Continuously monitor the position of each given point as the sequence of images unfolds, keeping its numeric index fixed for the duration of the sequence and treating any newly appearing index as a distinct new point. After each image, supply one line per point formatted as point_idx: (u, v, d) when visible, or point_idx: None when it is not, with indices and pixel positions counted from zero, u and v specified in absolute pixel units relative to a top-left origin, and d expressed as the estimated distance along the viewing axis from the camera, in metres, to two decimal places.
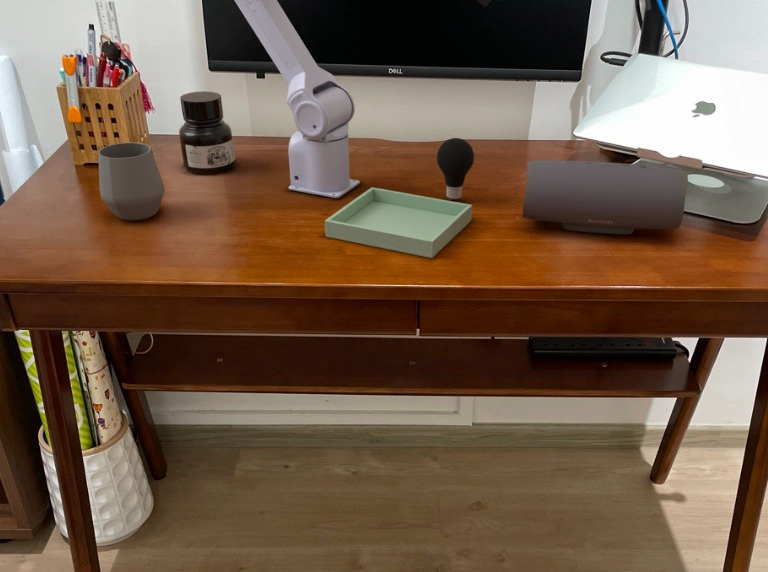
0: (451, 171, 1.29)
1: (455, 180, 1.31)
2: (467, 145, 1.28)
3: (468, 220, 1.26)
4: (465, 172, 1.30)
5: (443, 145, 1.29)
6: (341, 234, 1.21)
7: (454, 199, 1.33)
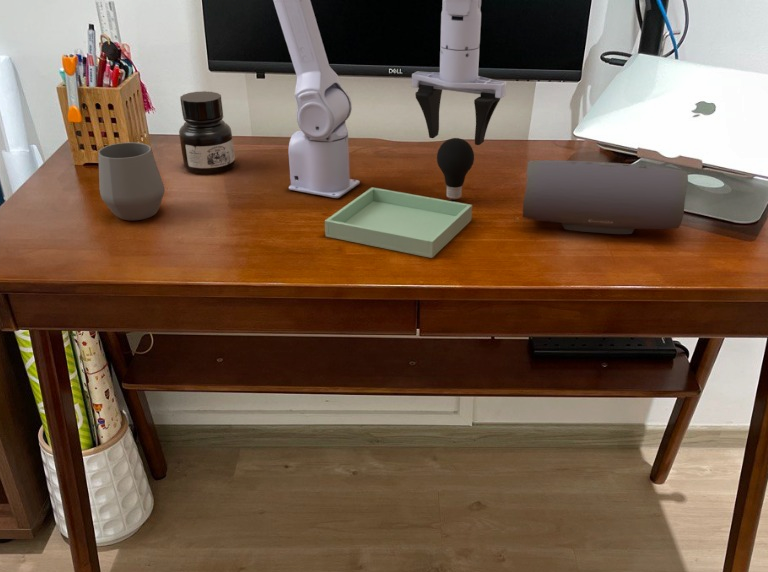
0: (451, 171, 1.29)
1: (455, 180, 1.31)
2: (467, 145, 1.28)
3: (468, 220, 1.26)
4: (465, 172, 1.30)
5: (443, 145, 1.29)
6: (341, 234, 1.21)
7: (454, 199, 1.33)
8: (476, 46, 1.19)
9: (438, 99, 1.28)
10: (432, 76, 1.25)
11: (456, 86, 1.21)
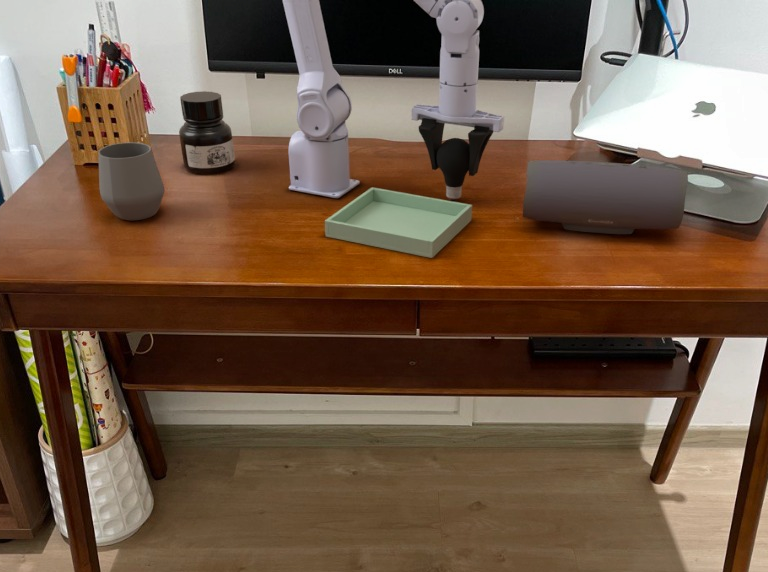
0: (451, 171, 1.29)
1: (455, 180, 1.31)
2: (467, 145, 1.28)
3: (468, 220, 1.26)
4: (465, 172, 1.30)
5: (443, 145, 1.29)
6: (341, 234, 1.21)
7: (454, 199, 1.33)
8: (474, 82, 1.22)
9: (441, 132, 1.30)
10: (431, 110, 1.28)
11: (455, 120, 1.24)
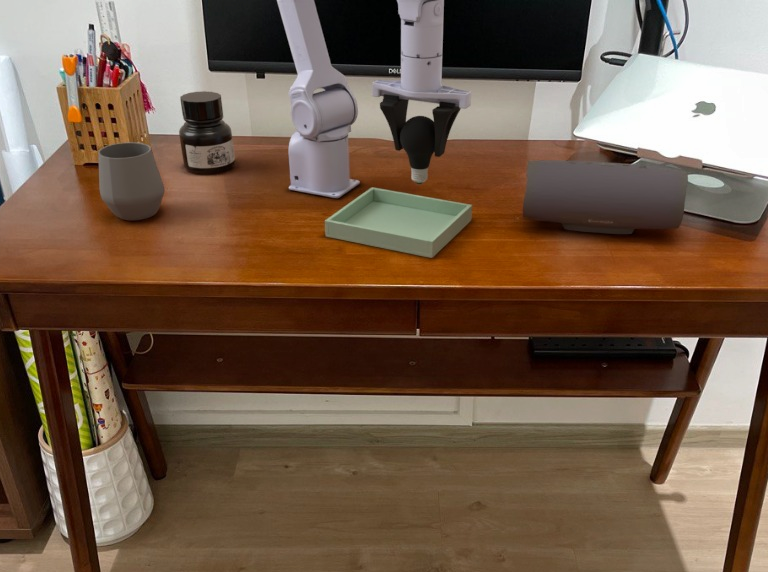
0: (415, 151, 1.20)
1: (420, 161, 1.21)
2: (432, 123, 1.19)
3: (468, 220, 1.26)
4: (430, 153, 1.21)
5: (406, 123, 1.19)
6: (341, 234, 1.21)
7: (419, 182, 1.24)
8: (431, 55, 1.12)
9: (404, 109, 1.21)
10: (393, 85, 1.18)
11: (418, 96, 1.15)
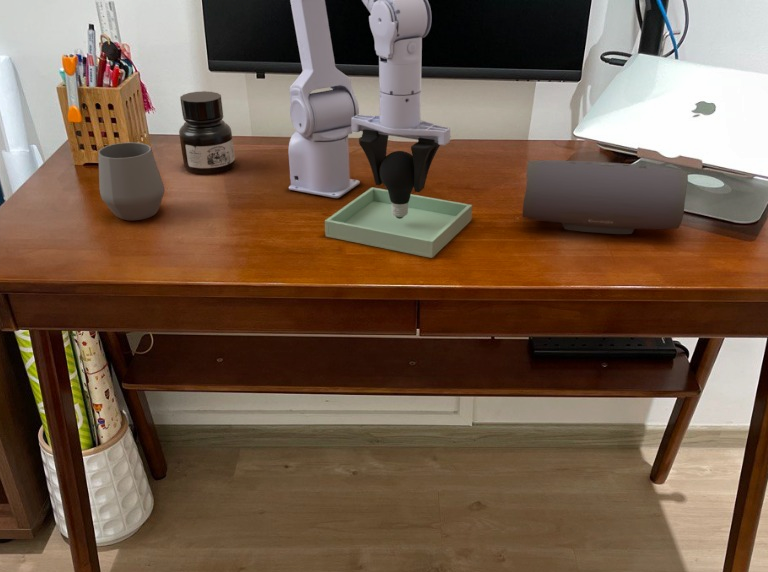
0: (394, 187, 1.19)
1: (400, 196, 1.20)
2: (411, 159, 1.18)
3: (468, 220, 1.26)
4: (410, 188, 1.20)
5: (385, 159, 1.18)
6: (341, 234, 1.21)
7: (400, 217, 1.23)
8: (405, 92, 1.11)
9: (384, 144, 1.20)
10: (372, 120, 1.17)
11: (396, 132, 1.14)
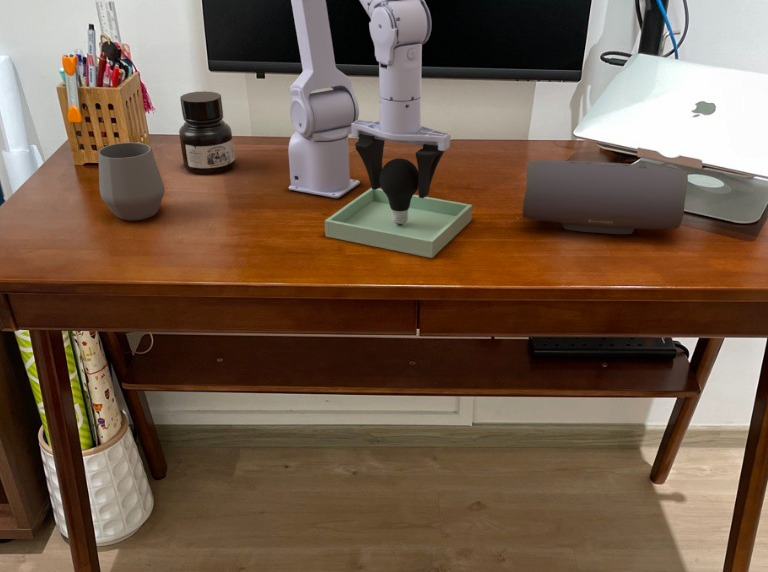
0: (394, 194, 1.19)
1: (399, 204, 1.21)
2: (411, 166, 1.19)
3: (468, 220, 1.26)
4: (410, 195, 1.20)
5: (385, 166, 1.19)
6: (341, 234, 1.21)
7: (400, 224, 1.24)
8: (405, 98, 1.11)
9: (380, 149, 1.21)
10: (373, 126, 1.18)
11: (396, 138, 1.14)
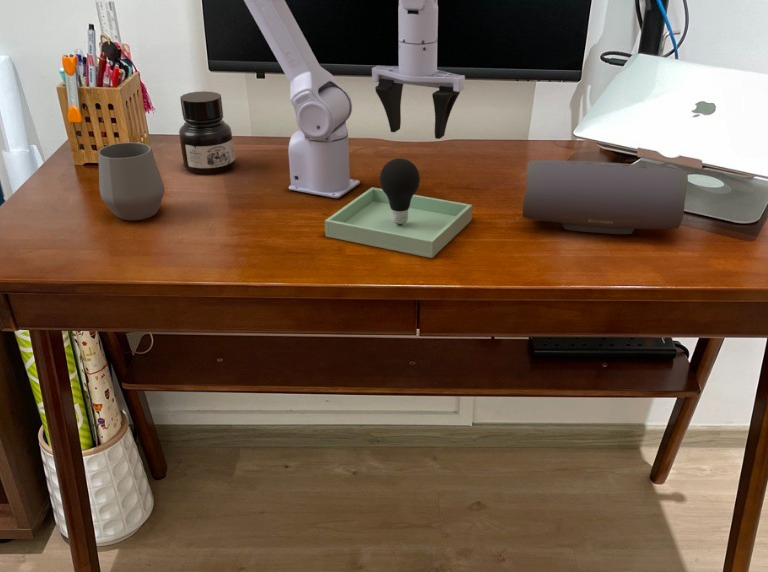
0: (394, 194, 1.19)
1: (400, 204, 1.21)
2: (411, 166, 1.19)
3: (468, 220, 1.26)
4: (410, 195, 1.20)
5: (386, 166, 1.19)
6: (341, 234, 1.21)
7: (400, 224, 1.24)
8: (433, 40, 1.20)
9: (399, 93, 1.28)
10: (392, 70, 1.25)
11: (414, 80, 1.22)
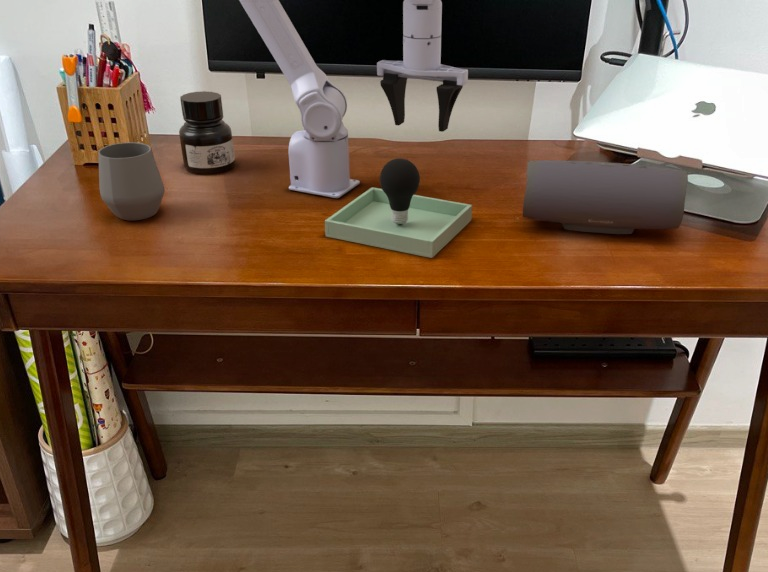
0: (394, 194, 1.19)
1: (400, 204, 1.21)
2: (411, 166, 1.19)
3: (468, 220, 1.26)
4: (410, 195, 1.20)
5: (386, 166, 1.19)
6: (341, 234, 1.21)
7: (400, 224, 1.24)
8: (439, 34, 1.23)
9: (403, 87, 1.31)
10: (396, 64, 1.28)
11: (419, 74, 1.25)
